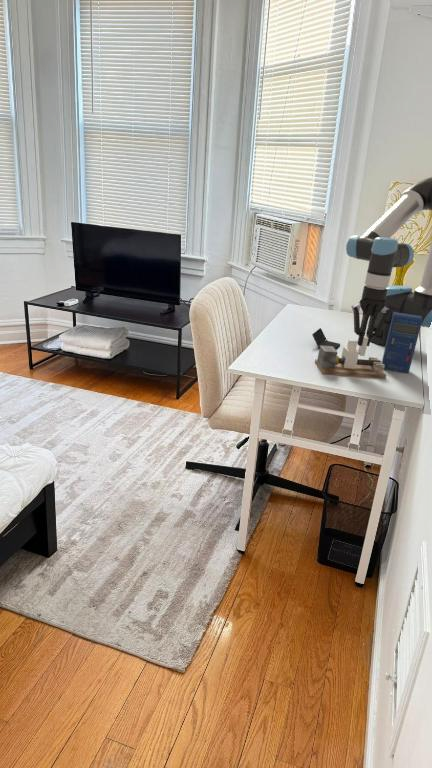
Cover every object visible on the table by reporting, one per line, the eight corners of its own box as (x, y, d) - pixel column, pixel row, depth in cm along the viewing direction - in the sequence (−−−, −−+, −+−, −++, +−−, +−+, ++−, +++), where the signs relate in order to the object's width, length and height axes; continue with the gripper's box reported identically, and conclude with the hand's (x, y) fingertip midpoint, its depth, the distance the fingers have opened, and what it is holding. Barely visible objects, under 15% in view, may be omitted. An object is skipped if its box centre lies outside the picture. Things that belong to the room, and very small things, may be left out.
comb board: (374, 366, 189) (378, 347, 186) (385, 378, 179) (390, 358, 176) (314, 362, 187) (318, 343, 184) (322, 373, 177) (326, 353, 174)
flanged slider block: (351, 363, 185) (356, 338, 181) (355, 368, 180) (361, 343, 177) (340, 363, 184) (345, 338, 181) (344, 368, 180) (349, 342, 176)
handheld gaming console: (339, 349, 198) (327, 326, 198) (322, 358, 201) (309, 334, 200) (341, 345, 209) (329, 323, 209) (324, 353, 212) (313, 331, 211)
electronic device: (381, 369, 187) (394, 314, 179) (380, 364, 192) (393, 311, 184) (408, 374, 185) (423, 319, 177) (407, 369, 190) (421, 315, 182)
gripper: (390, 285, 176) (375, 352, 185) (353, 282, 174) (339, 349, 183) (399, 290, 169) (383, 359, 178) (360, 287, 168) (346, 357, 177)
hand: (361, 354), depth 181 cm, fingers closed
